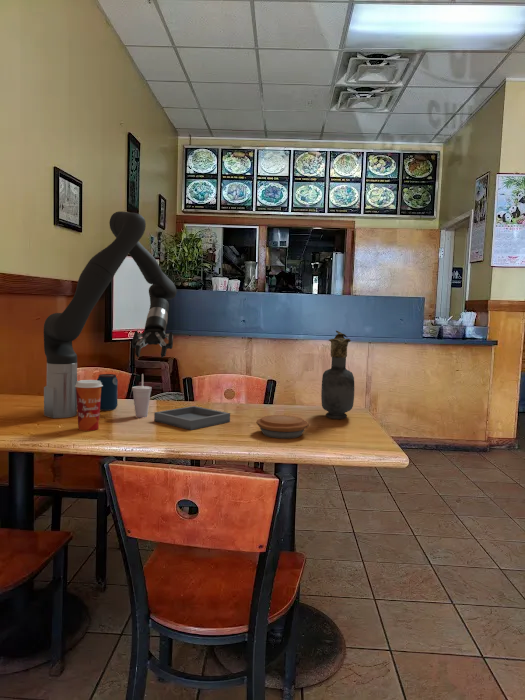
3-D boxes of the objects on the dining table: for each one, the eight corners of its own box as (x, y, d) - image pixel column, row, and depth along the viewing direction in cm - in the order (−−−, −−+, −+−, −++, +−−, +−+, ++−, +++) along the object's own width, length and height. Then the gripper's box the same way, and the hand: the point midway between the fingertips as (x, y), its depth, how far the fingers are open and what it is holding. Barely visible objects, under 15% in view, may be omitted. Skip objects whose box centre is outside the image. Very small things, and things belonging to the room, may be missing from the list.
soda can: (121, 408, 184) (121, 374, 183) (106, 411, 178) (106, 376, 178) (107, 406, 188) (108, 373, 187) (92, 409, 182) (92, 374, 181)
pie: (272, 426, 165) (272, 410, 165) (316, 433, 157) (317, 416, 157) (245, 435, 152) (246, 418, 151) (293, 443, 144) (293, 425, 143)
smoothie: (153, 414, 175) (154, 373, 174) (147, 418, 169) (148, 375, 168) (135, 413, 176) (135, 372, 175) (128, 417, 170) (129, 375, 169)
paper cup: (76, 432, 148) (76, 383, 147) (72, 426, 155) (73, 380, 154) (105, 430, 152) (105, 382, 150) (100, 425, 158) (100, 379, 157)
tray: (190, 430, 155) (191, 420, 155) (154, 421, 166) (154, 412, 166) (229, 421, 168) (230, 413, 168) (193, 413, 179) (193, 405, 179)
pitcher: (321, 420, 174) (325, 331, 172) (319, 410, 193) (322, 329, 191) (354, 422, 174) (358, 332, 171) (348, 411, 193) (352, 330, 190)
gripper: (135, 314, 190) (127, 348, 180) (174, 315, 190) (169, 349, 180) (138, 328, 196) (131, 362, 186) (176, 329, 196) (171, 363, 186)
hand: (149, 355), depth 183 cm, fingers open, 8 cm apart
